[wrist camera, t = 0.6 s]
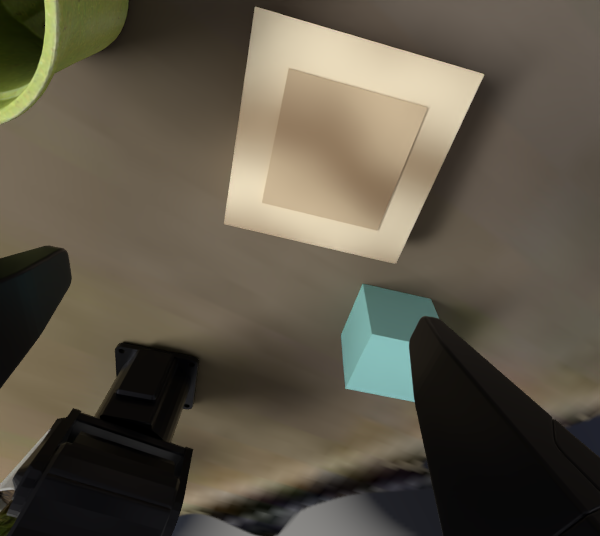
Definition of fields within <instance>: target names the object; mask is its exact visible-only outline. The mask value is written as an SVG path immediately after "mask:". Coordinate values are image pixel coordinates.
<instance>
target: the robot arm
mask: <svg viewBox="0 0 600 536" xmlns="http://www.w3.org/2000/svg"><path fill="white" fill-rule="evenodd" d="M71 279H72V276H71V269H70V263H69V257H68V253H67V251H66V250H65V249H63V248H58V247H53V246H43V247H39V248H36V249H32V250H29V251H25V252H22V253H18V254H14V255H11V256H7V257H4V258H0V388H1V387H2V386H3V384H4V383H5V382H6V380H7V379H8V378H9V376H10V375H11V374H12V372H13V371H14V370H15V368H16V367H17V366H18V365H19V363H20V362H21V361H22V359H23V358H24V357H25V355H26V354H27V353H28V351H29V350H30V349H31V347H32V346H33V345H34V343H35V342H36V341H37V339H38V338H39V336H40V335H41V333H42V332H43V330H44V329H45V327H46V325H47V324H48V322H49V320H50V318H51V317H52V315H53V313H54V312H55V310H56V308H57V307H58V305H59V303H60V302H61V300H62V298H63V297H64V295H65V293H66V292H67V290H68V288H69V286H70V284H71ZM409 353H410V363H411V374H412V384H413V394H414V400H415V406H416V411H417V415H418V420H419V425H420V429H421V434H422V439H423V444H424V448H425V453H426V458H427V462H428V467H429V472H430V476H431V481H432V486H433V490H434V495H435V500H436V504H437V509H438V514H439V518H440V523H441V528H442V532H443V536H600V458H599V456H597V455H596V454H595V453H594V452H592V451H591V450H590V449H589V448H588V447H587V446H585V445H584V444H583V443H582V442H581V441H579V440H578V439H577V438H575V436H573V435H572V434H571V433H570V432H569V431H568V430H567V429H565V428H564V427H563V426H562V425H561V424H560V423H559V422H557V421H556V420H554V419H553V420H552V417H551V416H550V415H549V414H548V413H547V412H546V411H545V410H543V409H542V408H541V407H540V406H539V405H538V404H537V403H535V402H534V401H533V400H532V399H531V398H530V397H529V396H527V395H526V394H525V393H524V392H523V391H522V390H520V389H519V388H518V387H517V386H516V385H515V384H514V383H512V382H511V381H510V380H509V379H508V378H507V377H505V376H504V375H503V374H502V373H501V372H500V371H499V370H497V369H496V368H495V367H494V366H493V365H492V364H491V363H489V362H488V361H487V360H486V359H485V358H484V357H482V356H481V355H480V354H479V353H478V352H477V351H476V350H474V349H473V348H472V347H471V346H470V345H469V344H468V343H466V342H465V341H464V340H463V339H462V338H461V337H459V336H458V335H457V334H456V333H455V332H454V331H453V330H451V329H450V328H449V327H448V326H447V325H446V324H445V323H443V322H442V321H441V320H440V319H438V318H435V317H429V316H423V317H421V318H420V320H419V322H418V324H417V326H416V328H415V330H414V332H413V334H412V336H411V338H410V341H409ZM115 358H116V376H117V378H116V379H115V381H114V383H113V385H112V386H111V388H110V390H109V392H108V393H107V395H106V397H105V399H104V400H103V402H102V404H101V406H100V407H99V409H98V411H97V413H96V414H95V416H94V417H93V416H90V415H87V414H84V413H81V411H80V410H77V409H74V408H73V409H72V411H71V412H70V414H69V415H68V417H66V418H60V419H57V420H56V422H55V423H54V425H53V426H52V428H51V429H50V431H49V432H48V434H47V435H46V437H45V438H44V439H43V441H42V442H41V443H40V445H39V446H38V447H37V448H36V449H35V451H34V452H33V453H32V454H31V455H30V456H29V458H28V459H27V460H26V461H25V462H24V463H23V465H22V466H21V467H20V468H19V469H18V471H17V472H16V474H15V475H14V477H13V479H12V482H13V486H14V490H15V492H14V494H13V496H12V500H13V501H12V503H11V505H10V507H9V509H8V512H7V515H8V516H12V517H16V518H17V519H16V521H15V523H14V524H13V526H12V528H11V529H10V531H9V533H8V535H7V536H171V535H172V533H173V530H174V528H175V526H176V523H177V520H178V517H179V514H180V511H181V508H182V504H183V500H184V495H185V490H186V484H187V479H188V473H189V468H190V463H191V457H192V452H193V449H191V448H188V447H185V448H184V447H181V446H178V445H175V444H172V443H171V440H172V438H173V435H174V432H175V429H176V426H177V423H178V421H179V418H180V415H181V412H182V409H191V408H192V407H193V404H194V397H195V389H196V382H197V374H198V366H199V360H198V359H197V358H196V357H193V356H188V355H182V354H177V353H172V352H167V351H162V350H157V349H152V348H146V347H141V346H136V345H131V344H126V343H119V344H118V345H117V347H116V348H115Z"/></svg>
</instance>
